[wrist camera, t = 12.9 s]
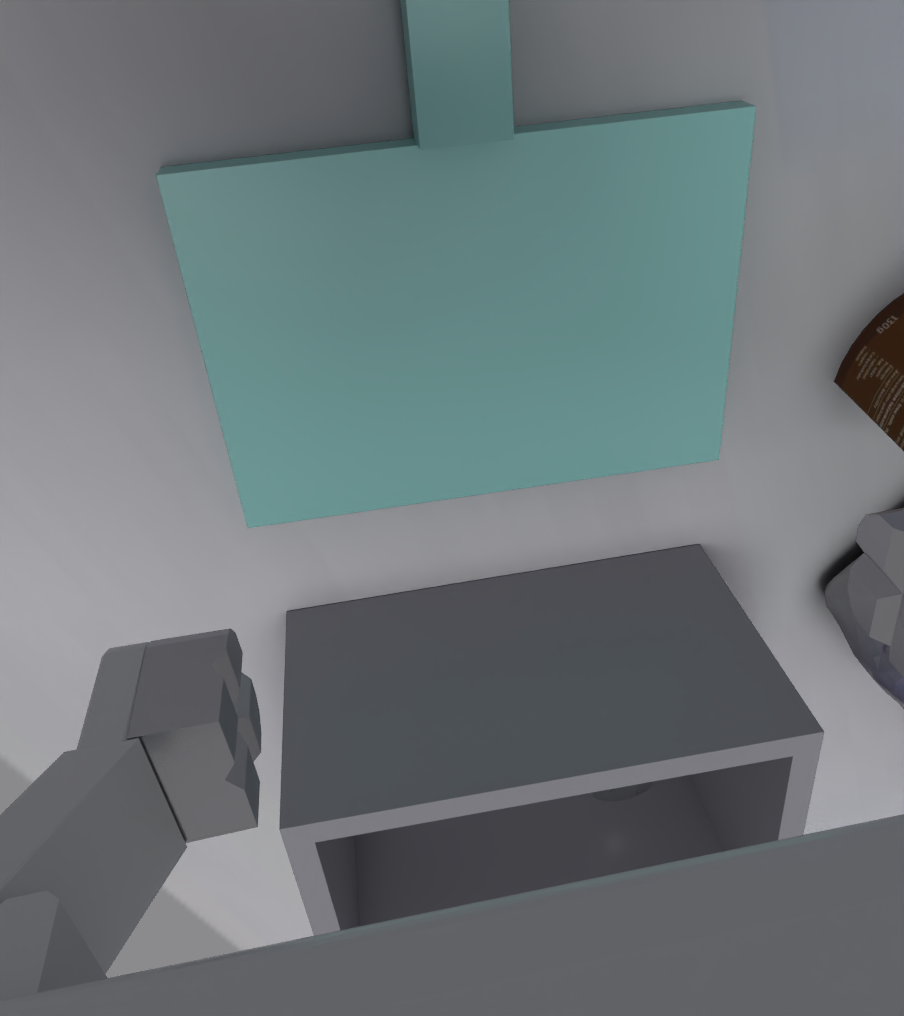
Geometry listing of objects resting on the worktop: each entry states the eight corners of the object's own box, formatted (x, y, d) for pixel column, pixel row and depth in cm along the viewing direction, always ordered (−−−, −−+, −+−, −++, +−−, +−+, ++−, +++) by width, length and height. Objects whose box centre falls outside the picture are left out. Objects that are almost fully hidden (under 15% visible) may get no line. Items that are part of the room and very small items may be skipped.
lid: (115, -11, 25) (102, -8, 24) (758, -76, 27) (788, -77, 25) (249, 511, 36) (246, 539, 34) (707, 445, 37) (726, 469, 35)
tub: (286, 611, 39) (279, 829, 29) (699, 544, 40) (824, 731, 30) (335, 800, 46) (343, 1025, 36) (684, 738, 47) (781, 940, 37)
